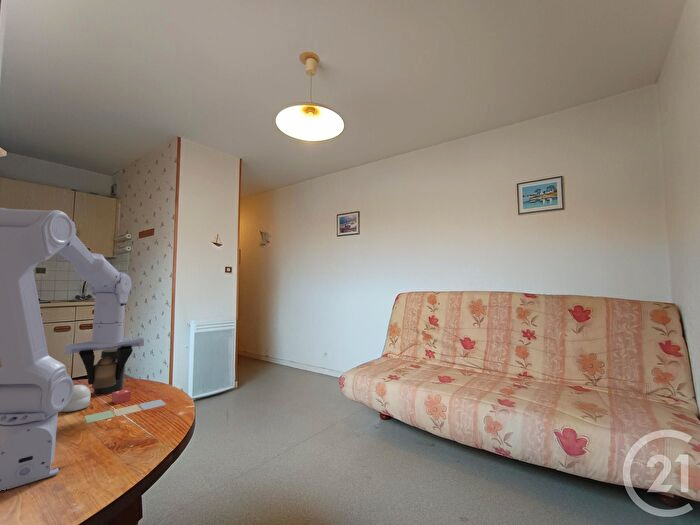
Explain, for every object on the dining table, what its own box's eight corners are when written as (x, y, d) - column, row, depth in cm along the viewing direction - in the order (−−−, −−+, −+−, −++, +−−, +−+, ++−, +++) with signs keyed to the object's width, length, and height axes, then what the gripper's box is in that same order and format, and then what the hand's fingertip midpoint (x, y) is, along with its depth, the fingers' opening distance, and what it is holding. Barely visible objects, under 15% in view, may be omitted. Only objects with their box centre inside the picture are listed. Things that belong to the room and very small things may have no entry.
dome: (91, 408, 76) (92, 385, 76) (59, 415, 72) (61, 390, 72) (88, 402, 80) (90, 380, 80) (58, 408, 76) (60, 384, 76)
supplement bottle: (103, 398, 85) (107, 353, 85) (87, 395, 87) (90, 351, 88) (129, 390, 91) (131, 348, 92) (112, 387, 93) (115, 346, 94)
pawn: (116, 385, 73) (118, 357, 73) (92, 389, 70) (94, 360, 70) (114, 381, 76) (116, 354, 76) (91, 384, 73) (93, 356, 73)
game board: (170, 410, 77) (170, 407, 77) (86, 431, 66) (87, 428, 66) (158, 398, 85) (158, 396, 85) (81, 415, 74) (81, 412, 74)
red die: (130, 403, 82) (130, 391, 82) (117, 406, 79) (117, 394, 79) (124, 400, 83) (125, 388, 83) (111, 404, 81) (112, 392, 81)
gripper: (140, 318, 82) (137, 371, 81) (66, 322, 71) (61, 383, 70) (147, 321, 77) (143, 377, 76) (68, 326, 66) (62, 391, 65)
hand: (104, 381), depth 73 cm, fingers closed on pawn, 4 cm apart
